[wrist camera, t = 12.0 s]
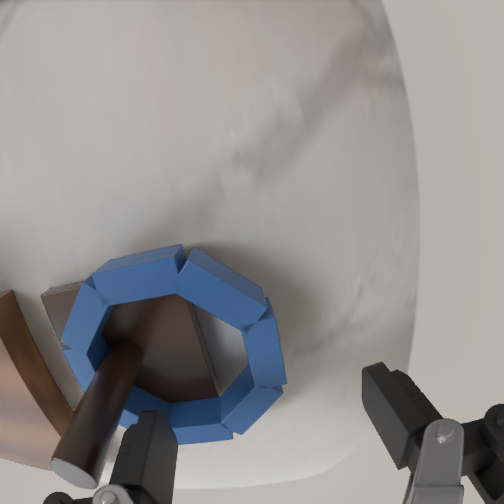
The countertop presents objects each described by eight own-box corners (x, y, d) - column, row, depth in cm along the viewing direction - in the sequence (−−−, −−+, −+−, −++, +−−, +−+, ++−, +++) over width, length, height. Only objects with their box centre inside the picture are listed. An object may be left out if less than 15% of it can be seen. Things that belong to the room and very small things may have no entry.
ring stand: (49, 288, 16) (-56, 376, 6) (180, 258, 16) (121, 378, 6) (102, 401, 18) (56, 511, 8) (220, 389, 18) (223, 528, 8)
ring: (56, 272, 14) (35, 287, 12) (255, 228, 15) (260, 238, 12) (125, 422, 17) (117, 446, 15) (287, 402, 17) (294, 427, 15)
